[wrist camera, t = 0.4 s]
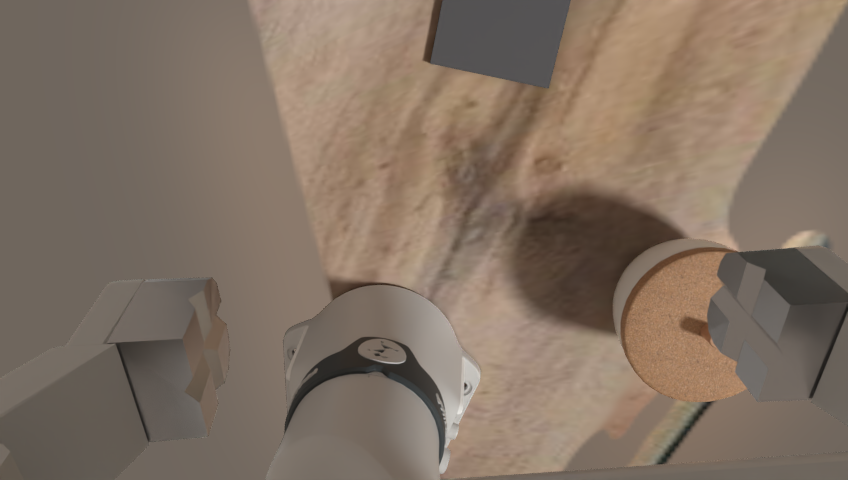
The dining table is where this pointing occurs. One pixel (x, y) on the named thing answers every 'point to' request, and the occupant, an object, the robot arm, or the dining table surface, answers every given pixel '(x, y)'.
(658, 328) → the lidded bowl
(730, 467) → the robot arm
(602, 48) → the dining table surface
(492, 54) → the rubber mat
